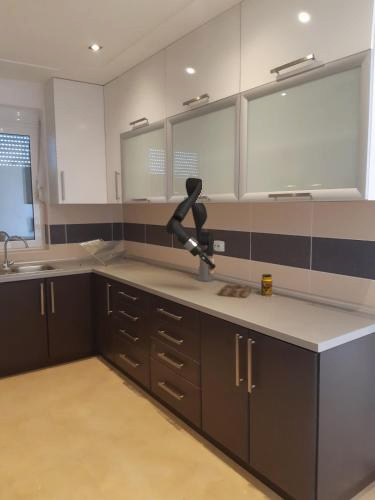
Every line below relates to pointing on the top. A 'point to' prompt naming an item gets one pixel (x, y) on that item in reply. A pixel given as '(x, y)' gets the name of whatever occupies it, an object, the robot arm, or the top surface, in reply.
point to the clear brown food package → (236, 291)
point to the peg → (210, 270)
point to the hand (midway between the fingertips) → (214, 267)
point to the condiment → (266, 285)
